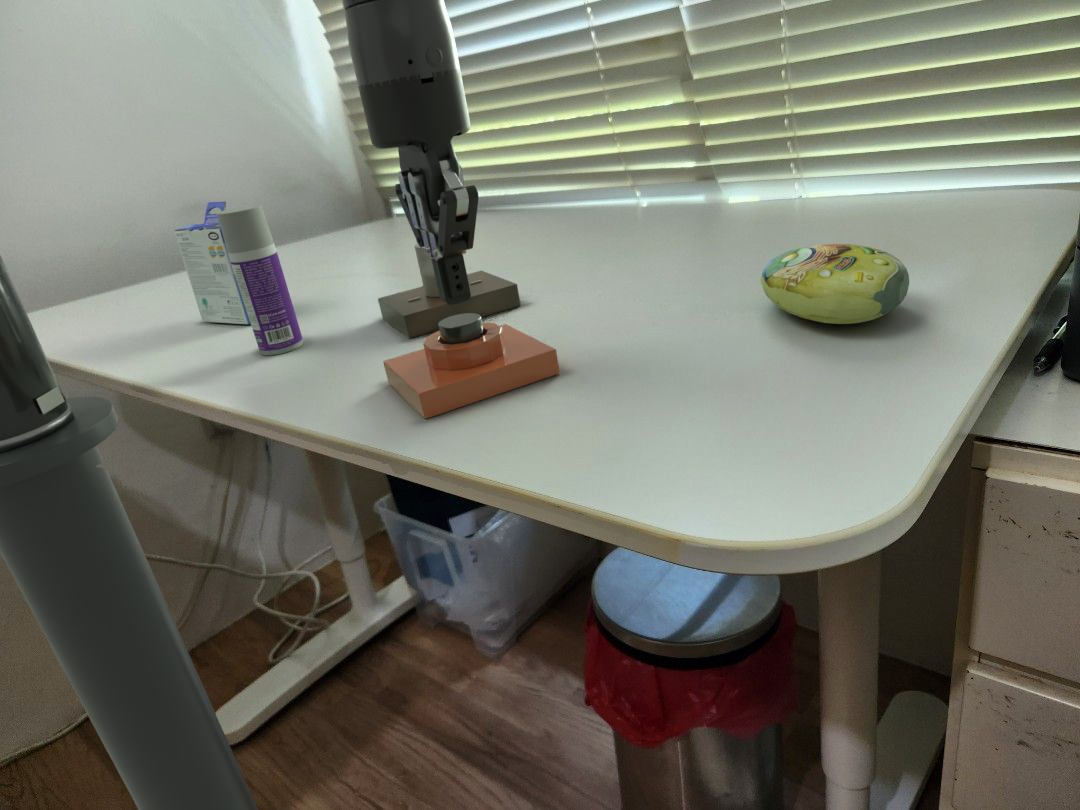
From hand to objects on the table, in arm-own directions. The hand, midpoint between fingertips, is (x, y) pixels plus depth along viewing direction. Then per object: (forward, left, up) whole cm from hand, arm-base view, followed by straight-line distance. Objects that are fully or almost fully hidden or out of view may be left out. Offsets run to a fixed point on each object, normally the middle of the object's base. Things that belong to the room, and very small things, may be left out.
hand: (456, 301), depth 61 cm
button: (0, 0, -3) cm, 3 cm away
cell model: (+30, -11, -7) cm, 33 cm away
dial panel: (+6, +21, -7) cm, 23 cm away
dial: (+6, +21, -4) cm, 22 cm away
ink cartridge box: (-14, +45, -7) cm, 48 cm away
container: (-12, +26, -7) cm, 30 cm away
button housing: (0, 0, -7) cm, 7 cm away
